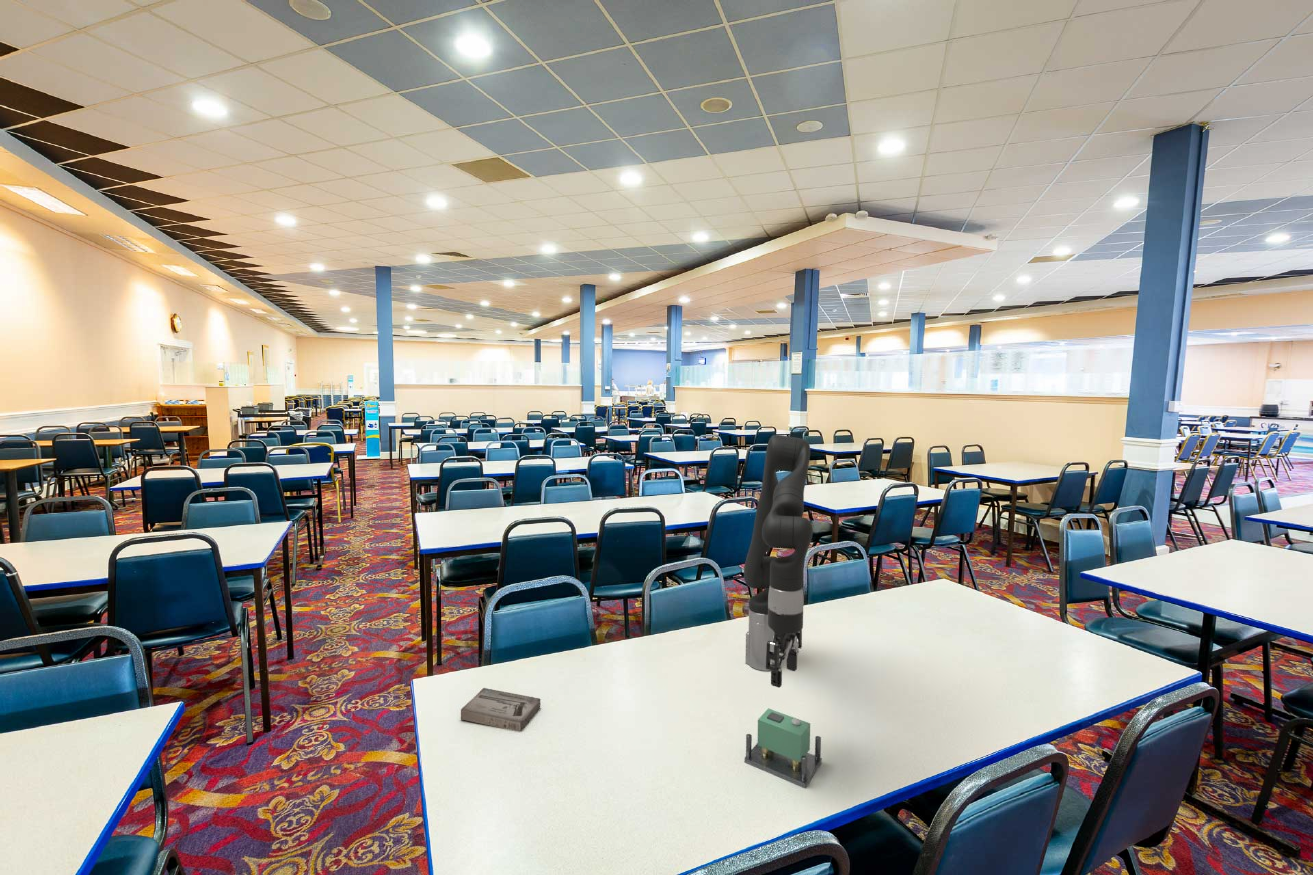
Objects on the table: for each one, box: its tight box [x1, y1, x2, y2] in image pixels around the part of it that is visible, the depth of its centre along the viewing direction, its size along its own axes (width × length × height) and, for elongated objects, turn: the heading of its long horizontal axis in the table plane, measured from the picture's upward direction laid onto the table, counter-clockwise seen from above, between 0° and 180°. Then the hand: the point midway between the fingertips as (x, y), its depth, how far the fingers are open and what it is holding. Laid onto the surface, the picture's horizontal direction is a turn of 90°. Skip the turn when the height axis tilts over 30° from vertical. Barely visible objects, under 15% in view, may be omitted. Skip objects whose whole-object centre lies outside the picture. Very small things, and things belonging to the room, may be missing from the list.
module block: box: [757, 708, 811, 763], centre depth 122 cm, size 10×6×7 cm, turn 54°
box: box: [460, 687, 541, 732], centre depth 141 cm, size 11×17×3 cm, turn 75°
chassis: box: [744, 733, 823, 789], centre depth 123 cm, size 14×10×6 cm
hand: (784, 677), depth 121 cm, fingers open, 8 cm apart
